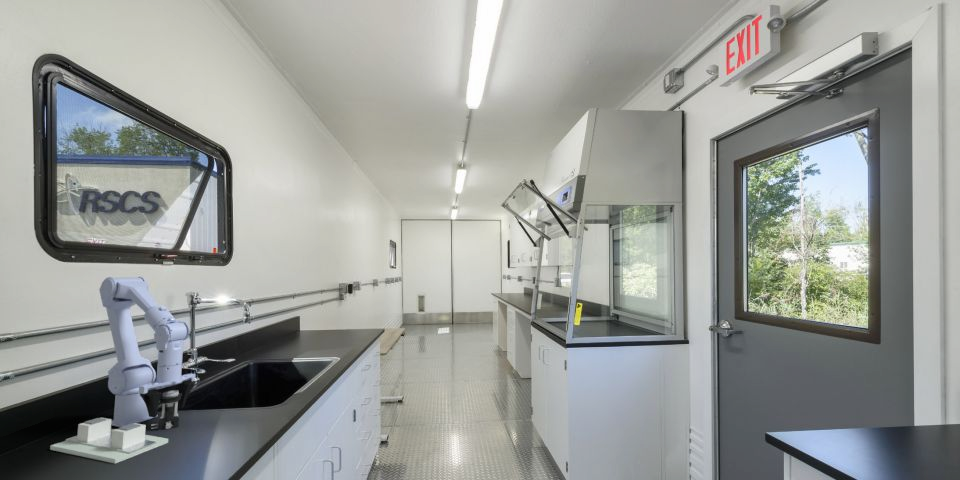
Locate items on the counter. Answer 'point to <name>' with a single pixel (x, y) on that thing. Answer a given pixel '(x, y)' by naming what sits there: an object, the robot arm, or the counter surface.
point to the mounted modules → (120, 436)
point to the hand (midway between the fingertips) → (166, 412)
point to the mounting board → (104, 450)
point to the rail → (107, 442)
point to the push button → (169, 410)
